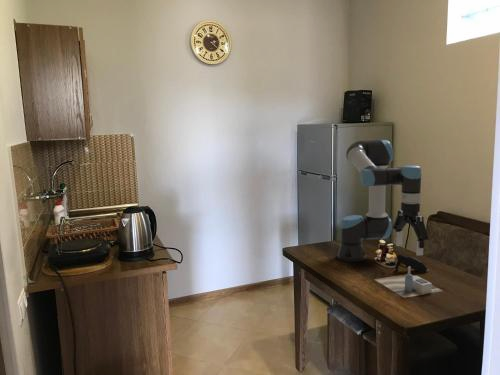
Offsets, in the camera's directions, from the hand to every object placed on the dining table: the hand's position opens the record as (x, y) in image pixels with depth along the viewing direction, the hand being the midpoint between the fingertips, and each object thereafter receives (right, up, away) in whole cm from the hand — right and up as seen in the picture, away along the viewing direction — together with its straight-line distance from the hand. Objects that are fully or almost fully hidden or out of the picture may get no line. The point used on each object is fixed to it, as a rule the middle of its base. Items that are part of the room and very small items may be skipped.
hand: (409, 250), depth 176 cm
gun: (+12, -15, +26) cm, 32 cm away
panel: (+3, -18, +10) cm, 20 cm away
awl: (+1, -18, +2) cm, 19 cm away
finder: (+6, -18, +5) cm, 20 cm away
